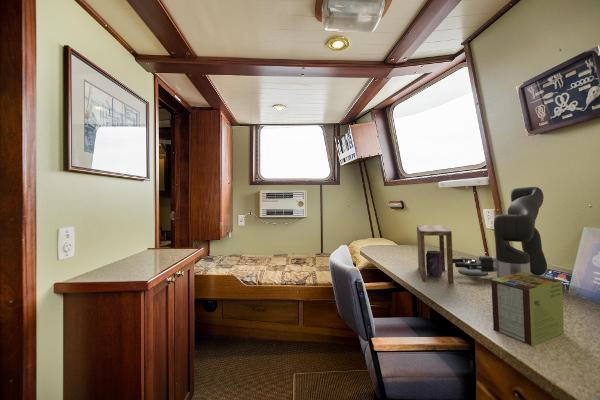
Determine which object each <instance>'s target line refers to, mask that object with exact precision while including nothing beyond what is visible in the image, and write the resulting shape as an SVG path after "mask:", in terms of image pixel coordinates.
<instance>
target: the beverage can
mask: <svg viewBox="0 0 600 400" xmlns="http://www.w3.org/2000/svg"><path fill="white" fill-rule="evenodd" d="M425 267H426V275H428V276H430V277H435V278H437V277H440V276H442V275H443V270H442V259H441V254H440V250H426V253H425Z"/></svg>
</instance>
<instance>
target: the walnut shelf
mask: <svg viewBox="0 0 600 400" xmlns="http://www.w3.org/2000/svg"><path fill="white" fill-rule="evenodd" d="M452 234H453V233H452V230H451V229H449V228H447V226H445V225H443V224H437V225H436V224H432V225H431V224H428V225H426V224H423V225H416V240H417V241H416V243H417V263H418V265H417V266H418V271H419V274H420V278H421V280H422V283H427V271H426V250H425V249H426V247H425V236H426V237H427V236H432V237H434V236H436V237H437V236H438V242H439V251H440V254H441V259H442V271H446V269H447V283H448V284H451V285H453V284H454V283H455V281H454V263H453V259H454V258H453V256H454V255H453V238H452V237H453V236H452ZM445 239H446V244H445ZM445 245H446V259H445ZM446 265H447V266H446ZM446 267H447V268H446Z"/></svg>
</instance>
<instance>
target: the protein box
mask: <svg viewBox="0 0 600 400" xmlns="http://www.w3.org/2000/svg"><path fill="white" fill-rule="evenodd" d="M490 283H491V284H490V286H491V303H492V304H491V306H492V327H493V329H492V330H493V331H495V332H498V333H500V334H502V335H505V336H507V337H509V338H512V339H514V340H516V341H519V342H521V343H524V344H526V345H529V346H531V347H533V346H535V345H538V344H540V343H543V342H545V341H548V340H551V339H554V338H556V337H559V336H561V335H564V333H565V328H564V325H565V324H564V302H563V301H564V299H563V280H561V279H556V278H551V277H547V276H543V275H539V276H538V275H534V274H532V273H530V274H529V273H524V272H520V273H517V274H512V275H508V276H504V277H500V278H497V277H496V278H492V279H491V280H490Z"/></svg>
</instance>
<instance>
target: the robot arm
mask: <svg viewBox="0 0 600 400" xmlns="http://www.w3.org/2000/svg"><path fill="white" fill-rule="evenodd" d="M510 201H511V203H510V205H509V206H508V208H507V214H496V215H495V217H494V220H493V233H494V243H495V255H480V256H478V259H475V258H474V257H460V258H453V264H454V266H455V268H459V269H460V268H466V269H468V270H469V269H471V270H481V271H482V272H488V273H496V278H500V277H504V276H508V275H512V274H517V273H520V272H524V273H529V274H534V275H538V276H543V275H544V274H546V272H547V270H548V263H547V259H546V256H545V253H544V251H543V247H542V246H543V245H542V238H541V234H540V231H538V229H537V227H536V225H535V224H536V221H537V218H538V215H539V212H540V211H539V210H540V208H541V207H542V205H543V204H544V193H543V190H542V189H541V188H540V187H538V186H528V187H518V188H517V187H516V188H513V189H512V190H511V192H510ZM508 242H517V243H519V242H520V243H521V250H520V249H519V248H515V247H513V246H512V245H510V244H509V243H508Z"/></svg>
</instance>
